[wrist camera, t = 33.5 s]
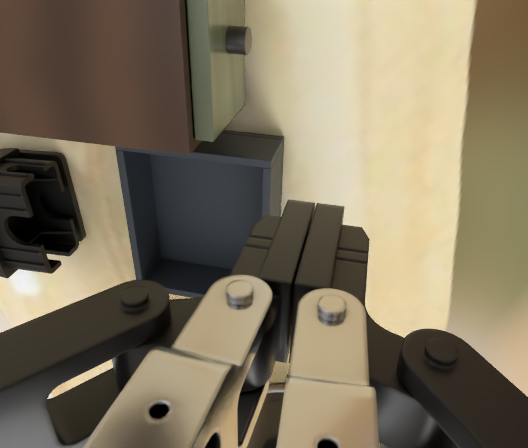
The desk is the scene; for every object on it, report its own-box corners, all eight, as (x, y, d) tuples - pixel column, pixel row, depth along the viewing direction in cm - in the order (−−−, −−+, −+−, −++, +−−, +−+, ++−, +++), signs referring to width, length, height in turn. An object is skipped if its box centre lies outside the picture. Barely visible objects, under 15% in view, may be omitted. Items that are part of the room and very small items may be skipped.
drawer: (264, -61, 29) (228, -59, 23) (261, 106, 34) (232, 144, 28) (62, -67, 31) (-18, -66, 25) (89, 90, 37) (30, 121, 31)
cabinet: (230, -74, 30) (173, -75, 22) (232, 107, 36) (189, 155, 28) (37, -78, 32) (-72, -81, 25) (71, 92, 38) (-8, 131, 31)
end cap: (-6, 142, 43) (-67, 174, 37) (63, 147, 41) (11, 181, 36) (25, 235, 48) (-23, 275, 42) (88, 242, 46) (46, 285, 41)
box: (277, 277, 43) (266, 311, 39) (158, 258, 45) (137, 288, 42) (284, 136, 36) (271, 160, 32) (142, 121, 38) (114, 142, 34)
